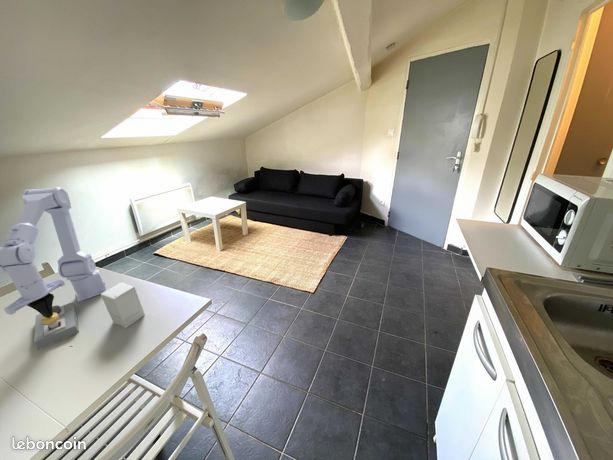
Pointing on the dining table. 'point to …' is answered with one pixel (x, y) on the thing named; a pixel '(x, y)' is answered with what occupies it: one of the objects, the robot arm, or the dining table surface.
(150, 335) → the dining table surface
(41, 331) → the mount plate
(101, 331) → the dining table surface
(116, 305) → the supplement box
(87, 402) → the dining table surface
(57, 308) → the knob
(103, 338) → the dining table surface
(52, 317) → the knob
